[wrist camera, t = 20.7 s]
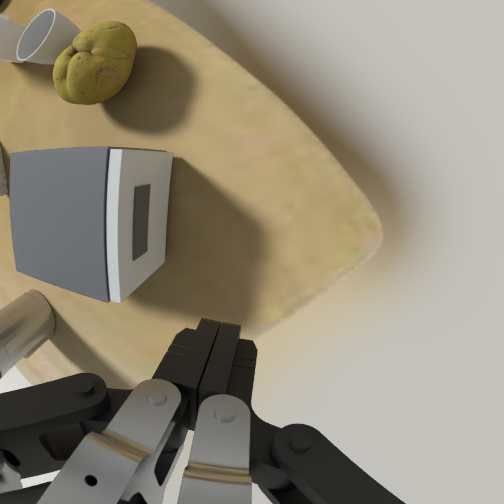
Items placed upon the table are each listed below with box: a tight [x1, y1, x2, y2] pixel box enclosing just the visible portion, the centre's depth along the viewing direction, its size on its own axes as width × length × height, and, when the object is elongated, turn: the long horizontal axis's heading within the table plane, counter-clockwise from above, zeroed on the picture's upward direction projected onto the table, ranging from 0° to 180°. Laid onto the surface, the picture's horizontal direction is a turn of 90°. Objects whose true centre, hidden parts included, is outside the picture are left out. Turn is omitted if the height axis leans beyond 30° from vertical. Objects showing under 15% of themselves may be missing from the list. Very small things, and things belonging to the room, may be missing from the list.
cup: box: [17, 9, 82, 65], centre depth 21 cm, size 8×8×10 cm
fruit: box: [53, 21, 137, 105], centre depth 22 cm, size 11×12×10 cm
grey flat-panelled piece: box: [106, 149, 173, 303], centre depth 26 cm, size 14×15×11 cm
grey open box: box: [10, 147, 165, 303], centre depth 27 cm, size 14×15×12 cm
